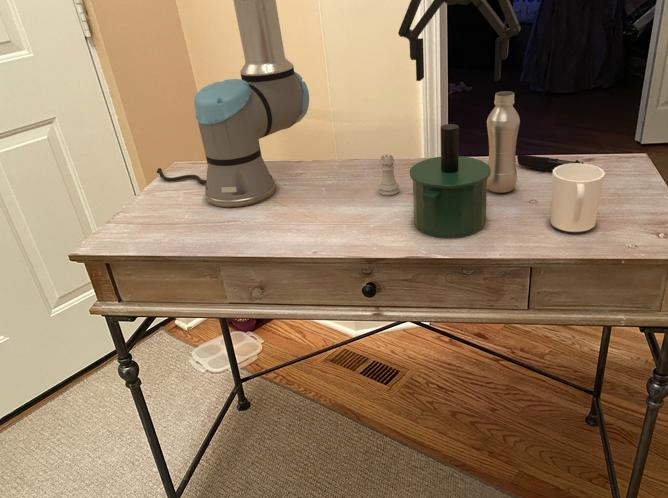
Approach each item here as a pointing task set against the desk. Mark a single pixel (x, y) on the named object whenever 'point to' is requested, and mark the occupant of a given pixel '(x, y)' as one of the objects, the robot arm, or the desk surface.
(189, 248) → the desk surface
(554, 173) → the mug
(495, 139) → the silver metal bottle
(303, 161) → the desk surface
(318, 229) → the desk surface
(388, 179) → the rook chess piece
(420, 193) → the pot
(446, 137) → the lid
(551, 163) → the electric trimmer
